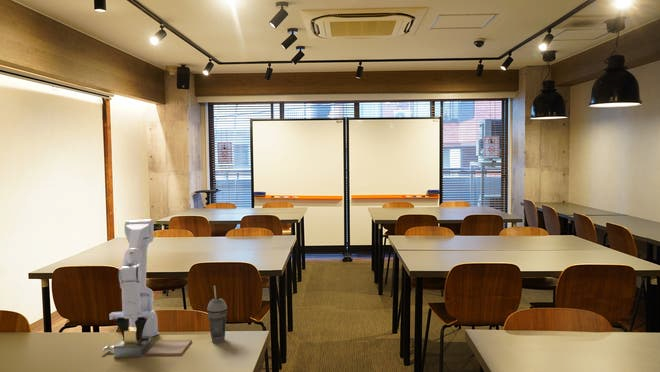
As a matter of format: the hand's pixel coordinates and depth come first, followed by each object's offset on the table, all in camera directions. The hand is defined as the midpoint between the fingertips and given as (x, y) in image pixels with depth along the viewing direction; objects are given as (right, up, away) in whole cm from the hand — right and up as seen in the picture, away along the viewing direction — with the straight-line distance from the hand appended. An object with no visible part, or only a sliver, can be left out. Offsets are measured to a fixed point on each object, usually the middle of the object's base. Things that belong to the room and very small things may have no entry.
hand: (132, 339), depth 162 cm
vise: (-3, -4, 0) cm, 5 cm away
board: (+12, -4, +2) cm, 13 cm away
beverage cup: (+27, -4, +9) cm, 29 cm away
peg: (0, -4, 0) cm, 4 cm away
